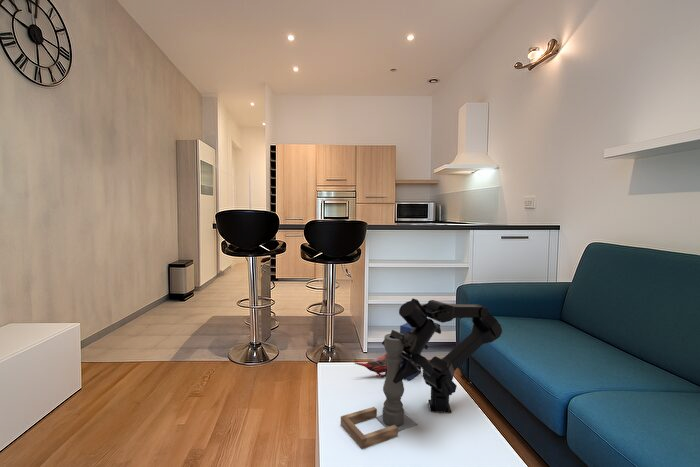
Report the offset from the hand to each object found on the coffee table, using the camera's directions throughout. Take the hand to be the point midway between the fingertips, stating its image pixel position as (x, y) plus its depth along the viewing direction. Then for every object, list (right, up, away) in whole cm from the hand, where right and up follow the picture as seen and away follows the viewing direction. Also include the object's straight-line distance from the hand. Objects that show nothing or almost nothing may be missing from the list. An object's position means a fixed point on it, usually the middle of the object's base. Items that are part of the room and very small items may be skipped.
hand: (389, 379), depth 104 cm
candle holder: (+1, -13, +1) cm, 13 cm away
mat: (+2, -13, +2) cm, 14 cm away
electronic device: (+11, -12, +33) cm, 37 cm away
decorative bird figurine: (-2, -12, +31) cm, 33 cm away
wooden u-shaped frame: (-6, -13, -2) cm, 15 cm away
